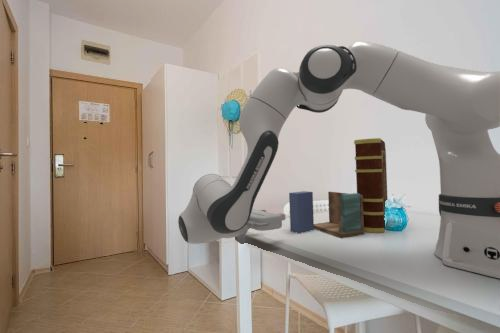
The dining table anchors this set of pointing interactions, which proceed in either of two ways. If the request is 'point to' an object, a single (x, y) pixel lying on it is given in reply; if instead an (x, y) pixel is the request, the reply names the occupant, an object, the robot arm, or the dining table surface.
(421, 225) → the dining table surface
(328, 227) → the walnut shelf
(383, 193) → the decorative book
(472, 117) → the robot arm
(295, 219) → the navy book
